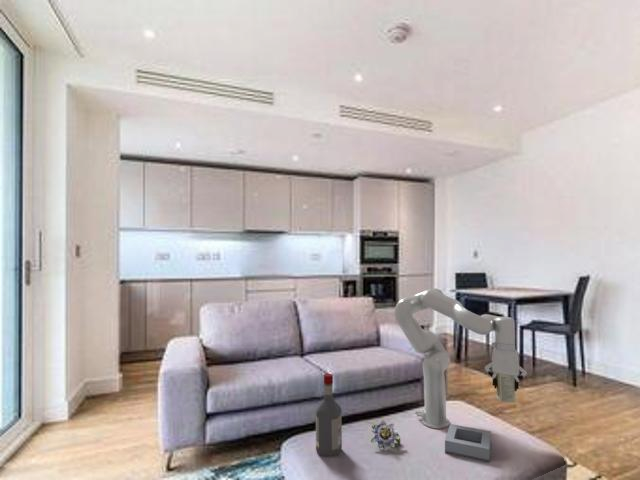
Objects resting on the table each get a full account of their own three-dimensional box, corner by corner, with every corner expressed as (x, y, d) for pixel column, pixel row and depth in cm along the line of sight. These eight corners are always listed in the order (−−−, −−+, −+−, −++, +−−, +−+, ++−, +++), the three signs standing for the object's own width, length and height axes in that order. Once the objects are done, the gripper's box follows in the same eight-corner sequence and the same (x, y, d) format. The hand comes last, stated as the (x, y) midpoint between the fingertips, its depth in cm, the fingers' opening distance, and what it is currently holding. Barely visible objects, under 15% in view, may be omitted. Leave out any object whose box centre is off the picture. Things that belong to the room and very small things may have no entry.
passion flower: (385, 463, 154) (370, 442, 151) (378, 445, 164) (363, 425, 162) (408, 447, 154) (393, 426, 151) (399, 430, 164) (385, 410, 162)
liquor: (343, 447, 156) (342, 372, 157) (336, 458, 148) (335, 379, 149) (321, 443, 159) (321, 370, 160) (314, 454, 151) (313, 377, 152)
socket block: (444, 453, 151) (444, 440, 151) (450, 435, 165) (450, 423, 165) (489, 462, 144) (489, 449, 144) (491, 443, 158) (490, 431, 158)
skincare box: (511, 398, 164) (511, 369, 164) (515, 402, 159) (515, 372, 160) (495, 397, 164) (495, 369, 165) (499, 401, 160) (499, 372, 160)
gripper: (482, 346, 163) (482, 388, 162) (528, 350, 155) (529, 395, 155) (483, 342, 170) (483, 383, 169) (527, 346, 162) (528, 389, 161)
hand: (505, 388), depth 162 cm, fingers closed on skincare box, 7 cm apart
